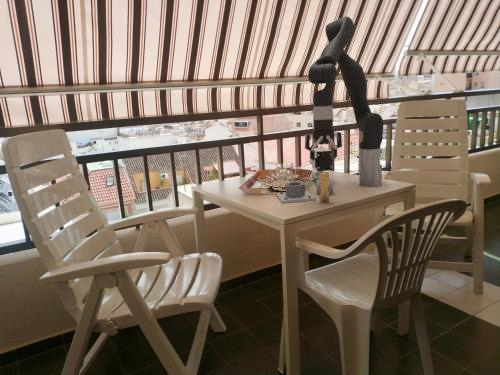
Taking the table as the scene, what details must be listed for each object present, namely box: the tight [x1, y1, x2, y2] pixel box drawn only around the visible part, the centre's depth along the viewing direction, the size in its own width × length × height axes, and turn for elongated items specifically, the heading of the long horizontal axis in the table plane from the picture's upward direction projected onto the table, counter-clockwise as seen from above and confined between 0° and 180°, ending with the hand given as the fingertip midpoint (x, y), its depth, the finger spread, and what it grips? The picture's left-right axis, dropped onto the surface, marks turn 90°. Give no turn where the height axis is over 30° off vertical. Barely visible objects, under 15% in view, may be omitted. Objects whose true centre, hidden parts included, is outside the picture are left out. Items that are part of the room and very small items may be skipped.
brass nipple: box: [319, 171, 330, 204], centre depth 153 cm, size 4×4×12 cm
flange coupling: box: [276, 182, 316, 204], centre depth 162 cm, size 14×14×6 cm
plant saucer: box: [267, 178, 306, 189], centre depth 181 cm, size 18×18×3 cm
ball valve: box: [309, 145, 333, 182], centre depth 190 cm, size 18×8×18 cm, turn 2°
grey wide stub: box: [316, 178, 334, 196], centre depth 166 cm, size 7×7×6 cm
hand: (323, 159), depth 150 cm, fingers open, 8 cm apart
